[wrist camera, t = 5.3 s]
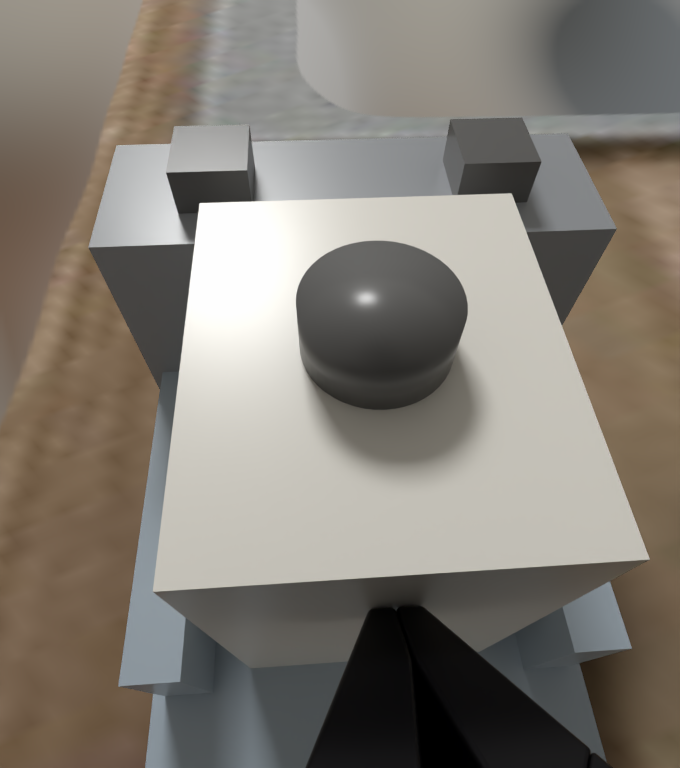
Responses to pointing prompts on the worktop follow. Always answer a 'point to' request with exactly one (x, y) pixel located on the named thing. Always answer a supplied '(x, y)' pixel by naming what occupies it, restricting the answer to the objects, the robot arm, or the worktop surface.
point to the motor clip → (163, 355)
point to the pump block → (379, 430)
